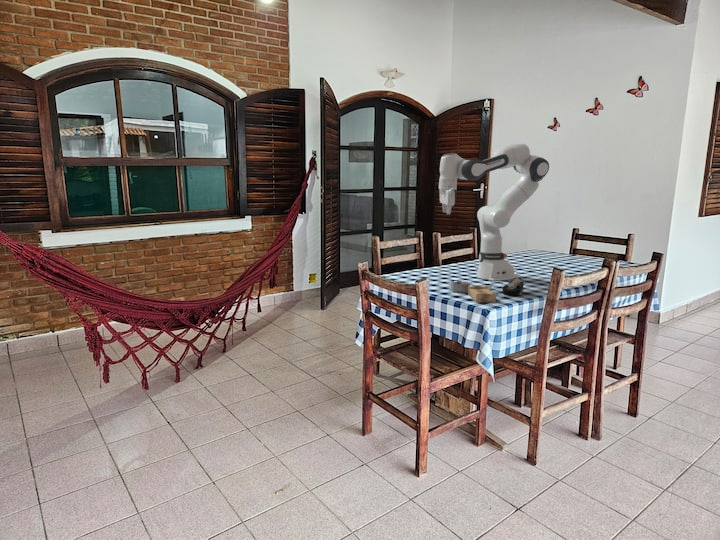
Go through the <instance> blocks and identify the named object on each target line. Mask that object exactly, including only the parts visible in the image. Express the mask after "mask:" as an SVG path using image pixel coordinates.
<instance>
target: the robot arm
mask: <svg viewBox="0 0 720 540" xmlns="http://www.w3.org/2000/svg"><path fill="white" fill-rule="evenodd" d="M508 168H513V169H514V171H516V172H517V173H518V174H521V176H520V178H519V179H518V180H517V181H515V183H514V184H512V185H510V187H509V188H508V189H506V191H504V192H503V193H502V194H501V196H500V197H501V198H500V199H499V201H497V203H496V204H495V205H484V206H482V207H480V208H479V209H478V211H477V212H476V213H477V214H476V216H477V220H478V222H479V229H480V251H479V255H478V261H479V263H478V268H477V272H476V274H475V277H476V278H479V279H481V280H482V279H483V280H489V281H494V282H495V281H508V279H512V278H517V277H519V276H518V275H517V274H515V269H514V266H513V265H512V264H511V263H509V262H508V261H507V260H506V259H505V258H507V257H508V254H507V253H503V252H502V248H503V247H502V244H503V236H502V233H501V231H500V229H501V228H505V227H506V226H508V224H510V222H511V218H512V216H513V215H514V213H515V212H516V211H517V210H518V209H519V208H520V207H521V206H522V205H523V204H524V203H525V202H527V200H529V199H530V197H531V196H533V195H534V193H535V192H536V191H537V190H538V188H539V186H540V185H539V184H540V183H539V182H541V181H542V180H543V179H544V178H545V177H546V176H547V174H548V173H549V170H550V163H549V161H548V160H547V159H545V158H544V157H540V156H538V155H536V154H531V152H530V148H529V146H528V145H527V144H526V143H514V144H510V145H505V146H503V147H500V148H498V149H496V150H494V153H493V154H492V157H489V158H486V159H483V160H480V159H465V158H462V157H461V156H459V155H458V153H455V152H451V153H445V154H443V155H442V156H441V158H440V164H439V174H440V176H439V180H438V181H439V182H438V190H439V203H440V204H442V206H441V207H442V213H446V215H451V212H452V207H453V206H455V202H456V197H455V196H456V192H455V190H457V187H458V186H457V185H458V184H457V183H458V179H460V180H466V181H467V180H468V181H478V180H479V179H481V178H482V177H483V176H484V175H485V174H488V173H490V172H493V171H495V170H504V169H508Z"/></svg>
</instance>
